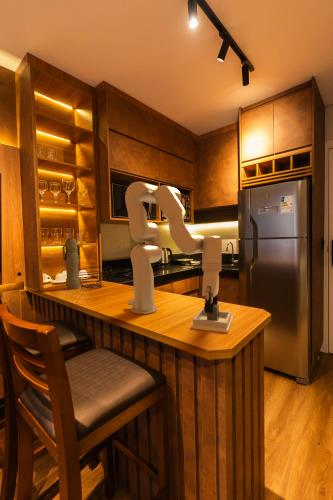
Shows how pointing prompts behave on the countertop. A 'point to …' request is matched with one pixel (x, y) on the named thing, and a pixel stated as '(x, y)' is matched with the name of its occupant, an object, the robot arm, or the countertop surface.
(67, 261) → the thermos
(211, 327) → the tray
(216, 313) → the connector plug
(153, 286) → the robot arm
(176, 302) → the countertop surface
